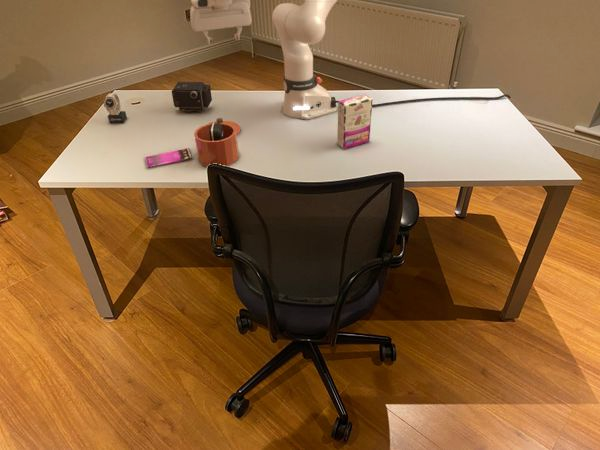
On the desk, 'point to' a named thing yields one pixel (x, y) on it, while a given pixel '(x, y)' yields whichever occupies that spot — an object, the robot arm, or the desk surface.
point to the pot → (217, 146)
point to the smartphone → (168, 157)
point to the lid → (228, 123)
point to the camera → (191, 96)
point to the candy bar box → (354, 121)
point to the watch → (114, 109)
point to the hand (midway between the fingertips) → (224, 41)
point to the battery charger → (216, 132)
